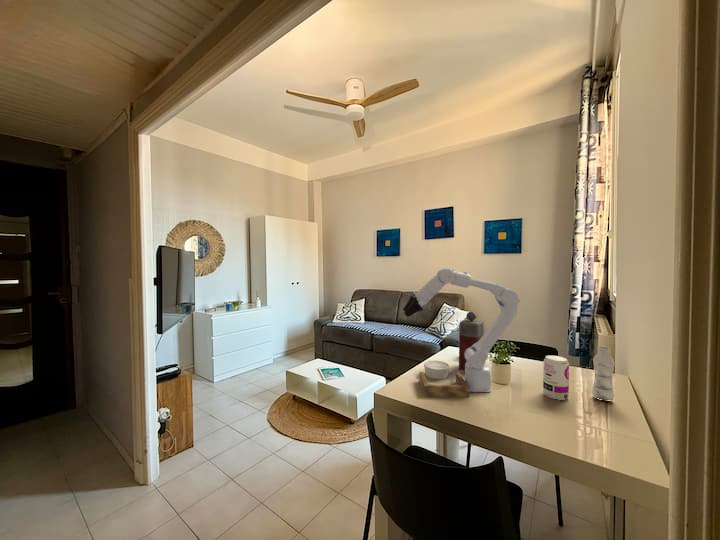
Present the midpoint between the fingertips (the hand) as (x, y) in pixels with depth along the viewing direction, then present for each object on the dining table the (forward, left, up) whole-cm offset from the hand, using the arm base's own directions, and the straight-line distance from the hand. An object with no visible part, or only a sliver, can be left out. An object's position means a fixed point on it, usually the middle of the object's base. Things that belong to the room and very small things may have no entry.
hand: (405, 313), depth 127 cm
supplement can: (-57, +8, -31) cm, 65 cm away
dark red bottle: (-34, -21, -31) cm, 51 cm away
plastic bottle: (-73, +10, -31) cm, 80 cm away
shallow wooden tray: (-15, +2, -31) cm, 34 cm away
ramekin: (-15, -11, -31) cm, 36 cm away
